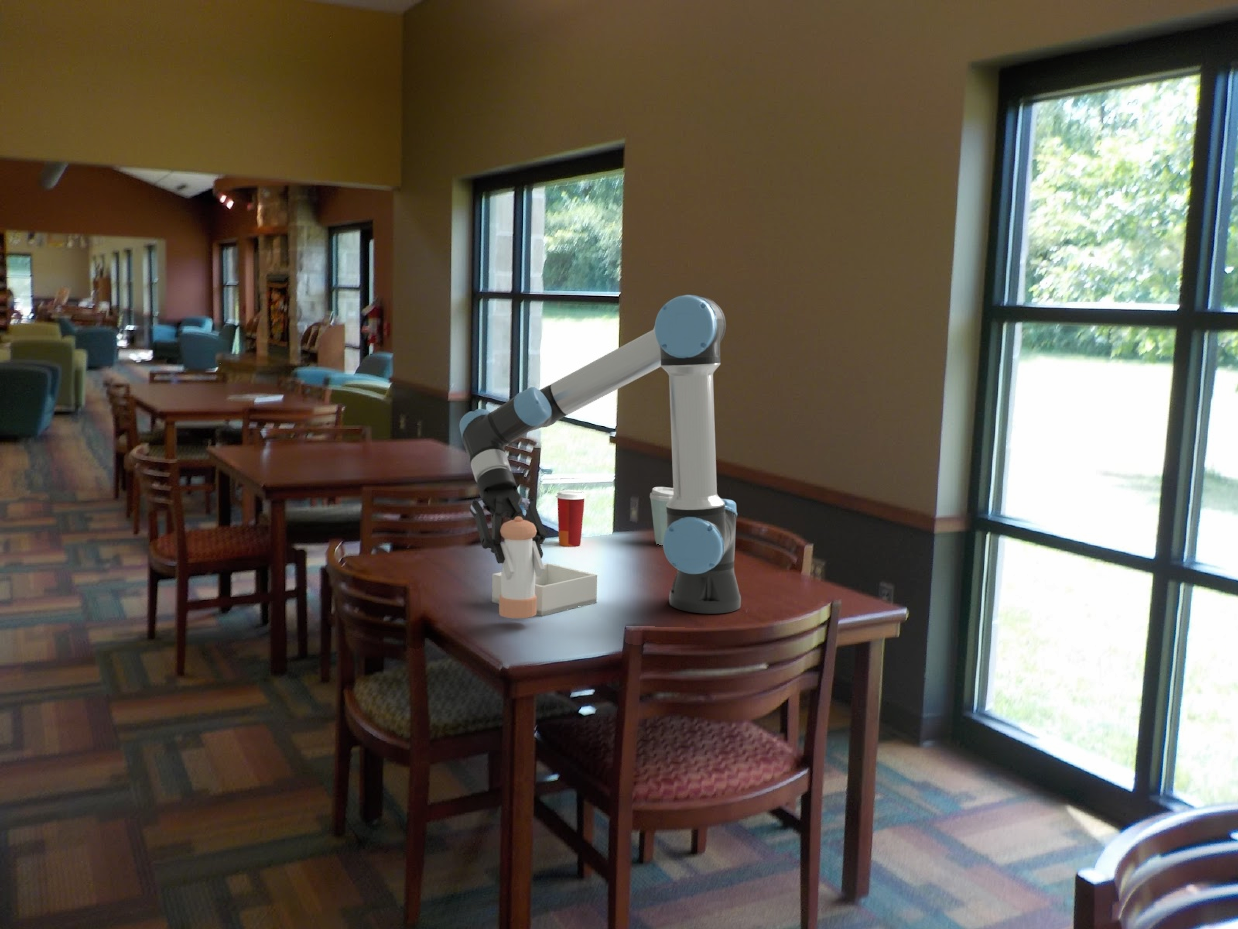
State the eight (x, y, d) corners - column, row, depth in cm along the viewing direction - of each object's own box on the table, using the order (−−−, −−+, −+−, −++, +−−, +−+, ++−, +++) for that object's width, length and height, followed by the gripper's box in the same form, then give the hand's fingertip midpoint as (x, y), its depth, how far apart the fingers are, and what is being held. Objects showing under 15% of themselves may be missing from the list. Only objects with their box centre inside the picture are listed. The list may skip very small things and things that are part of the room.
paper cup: (586, 542, 301) (587, 490, 299) (582, 548, 293) (583, 495, 292) (557, 540, 302) (558, 489, 300) (552, 546, 294) (553, 493, 292)
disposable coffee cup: (688, 541, 306) (690, 486, 304) (687, 549, 295) (690, 493, 293) (648, 539, 307) (650, 485, 305) (647, 548, 296) (649, 491, 294)
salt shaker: (534, 619, 217) (535, 520, 214) (496, 618, 217) (497, 519, 214) (538, 609, 224) (539, 513, 221) (501, 608, 224) (502, 513, 222)
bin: (596, 602, 239) (597, 575, 239) (541, 616, 228) (542, 587, 227) (546, 589, 249) (547, 562, 249) (492, 601, 238) (492, 574, 237)
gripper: (530, 486, 235) (563, 580, 223) (445, 491, 227) (475, 589, 214) (541, 463, 230) (575, 559, 218) (454, 468, 221) (485, 567, 209)
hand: (525, 574), depth 216 cm, fingers closed on salt shaker, 5 cm apart
